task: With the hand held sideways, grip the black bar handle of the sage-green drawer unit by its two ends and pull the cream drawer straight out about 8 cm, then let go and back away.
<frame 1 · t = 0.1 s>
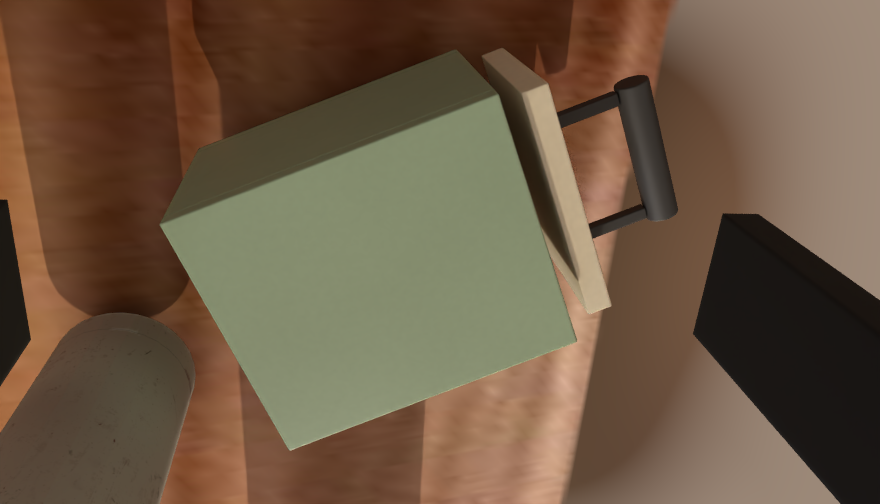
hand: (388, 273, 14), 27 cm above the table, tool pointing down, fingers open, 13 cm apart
cabinet: (370, 202, 42), on the table
thermos bottle: (126, 369, 45), on the table
drawer: (475, 202, 38), point 5 cm above the table, slide at 1.0 cm
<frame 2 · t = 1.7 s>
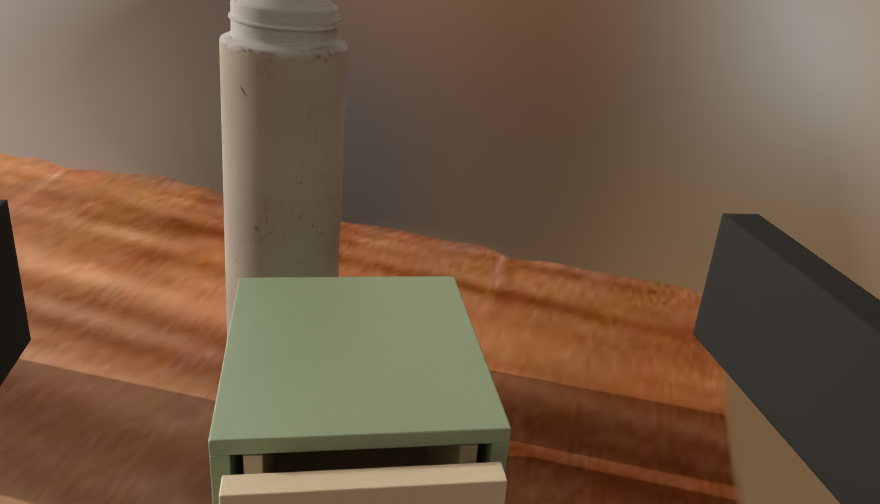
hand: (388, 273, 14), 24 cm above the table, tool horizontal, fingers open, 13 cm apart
cabinet: (351, 503, 42), on the table
thermos bottle: (282, 344, 57), on the table
drawer: (358, 497, 35), point 5 cm above the table, slide at 1.0 cm
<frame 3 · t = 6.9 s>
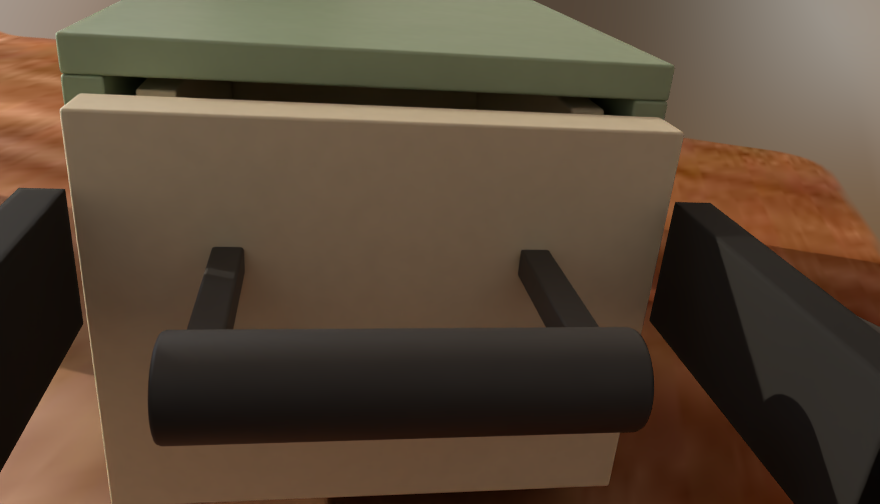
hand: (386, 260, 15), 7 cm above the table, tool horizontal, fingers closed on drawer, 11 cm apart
cabinet: (354, 323, 26), on the table
drawer: (369, 246, 19), point 5 cm above the table, slide at 1.0 cm, touching gripper
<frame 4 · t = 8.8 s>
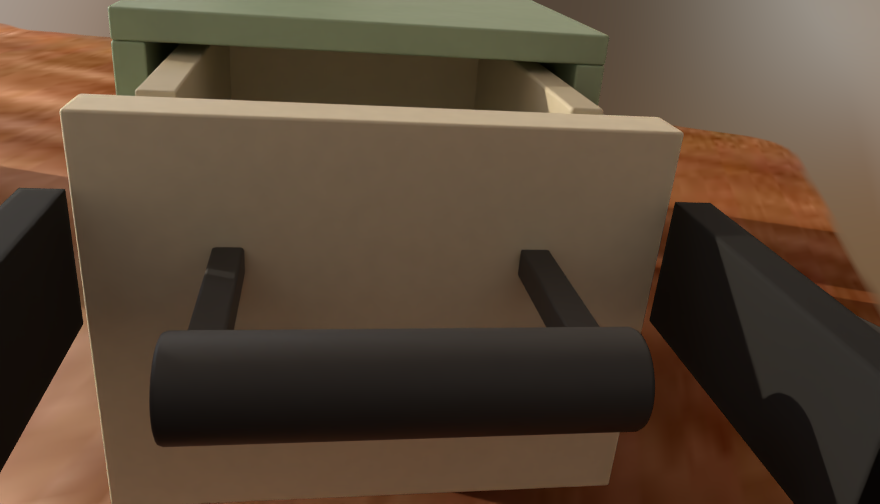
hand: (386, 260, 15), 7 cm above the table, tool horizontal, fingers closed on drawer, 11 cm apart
cabinet: (349, 272, 30), on the table
drawer: (369, 246, 19), point 5 cm above the table, slide at 5.0 cm, touching gripper
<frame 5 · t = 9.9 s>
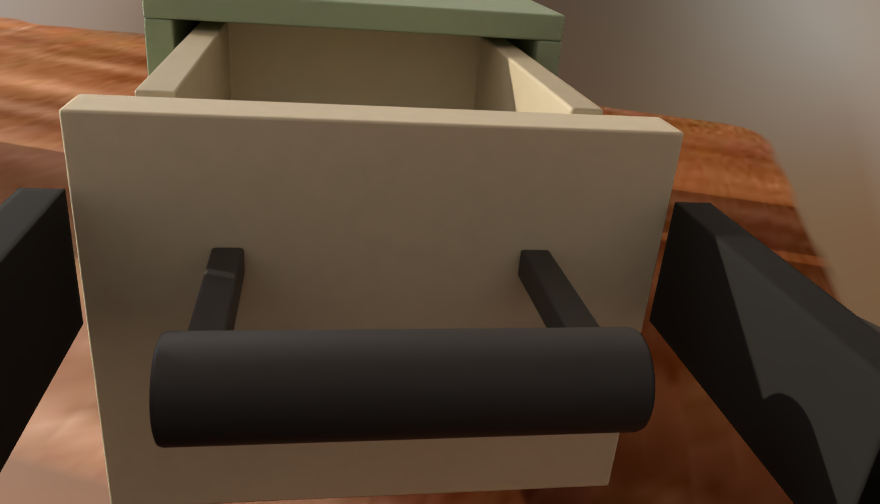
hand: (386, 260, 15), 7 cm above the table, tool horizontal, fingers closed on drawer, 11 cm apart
cabinet: (345, 233, 33), on the table
drawer: (369, 246, 19), point 5 cm above the table, slide at 9.0 cm, touching gripper
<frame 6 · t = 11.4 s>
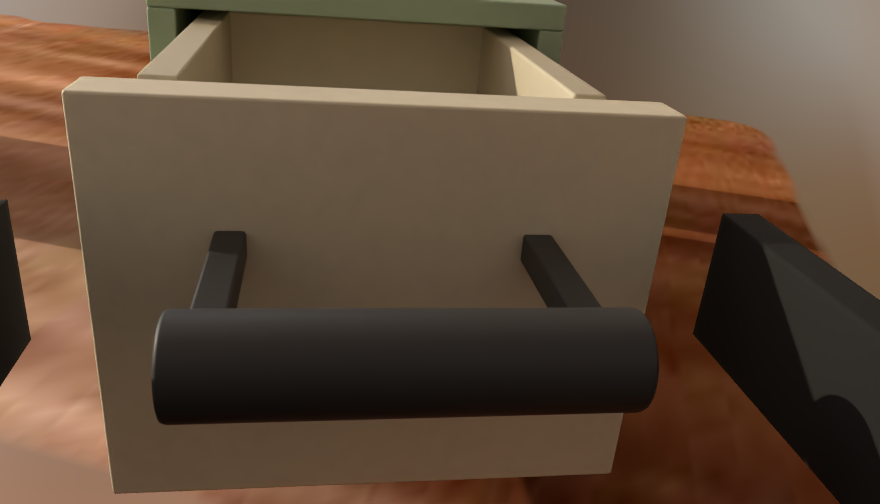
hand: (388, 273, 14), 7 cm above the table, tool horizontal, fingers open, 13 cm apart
cabinet: (347, 225, 33), on the table
drawer: (371, 234, 19), point 5 cm above the table, slide at 9.0 cm
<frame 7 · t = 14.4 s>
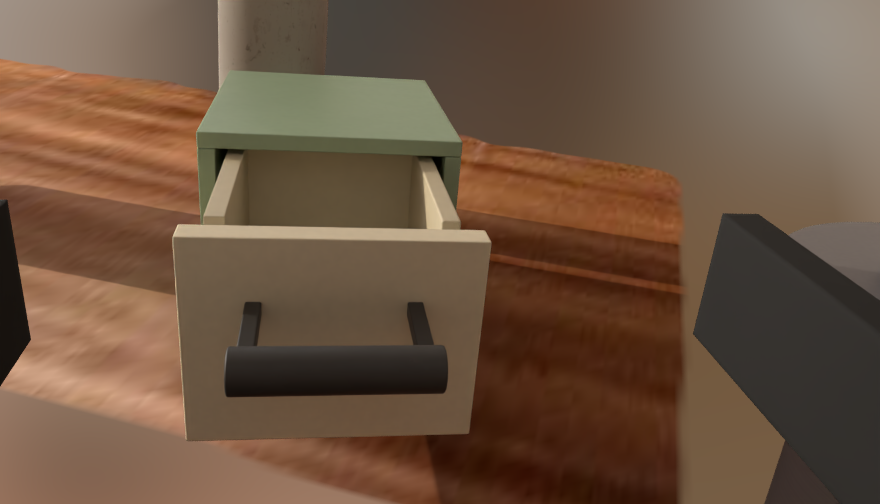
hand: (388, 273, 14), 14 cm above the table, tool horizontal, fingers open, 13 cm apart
cabinet: (327, 270, 47), on the table
thermos bottle: (271, 179, 62), on the table
drawer: (332, 293, 33), point 5 cm above the table, slide at 9.0 cm
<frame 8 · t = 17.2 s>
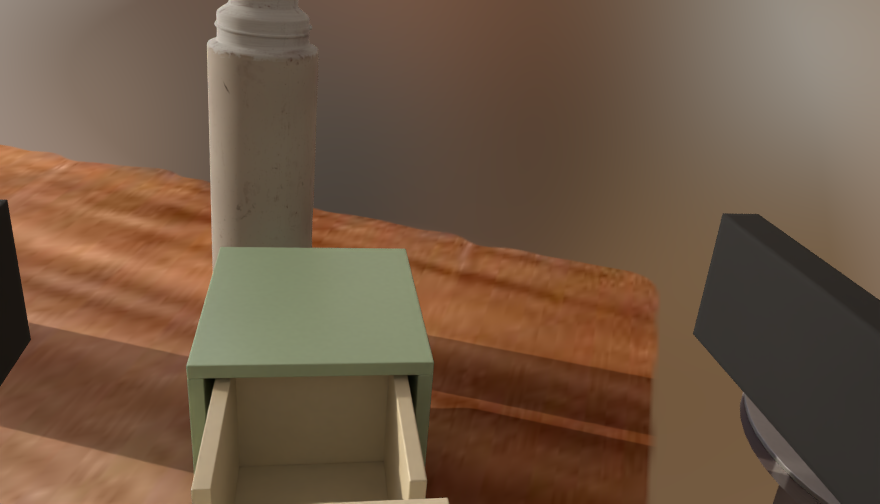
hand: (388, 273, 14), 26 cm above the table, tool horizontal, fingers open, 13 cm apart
cabinet: (312, 439, 50), on the table
thermos bottle: (262, 313, 65), on the table
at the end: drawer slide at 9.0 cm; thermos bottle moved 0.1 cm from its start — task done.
